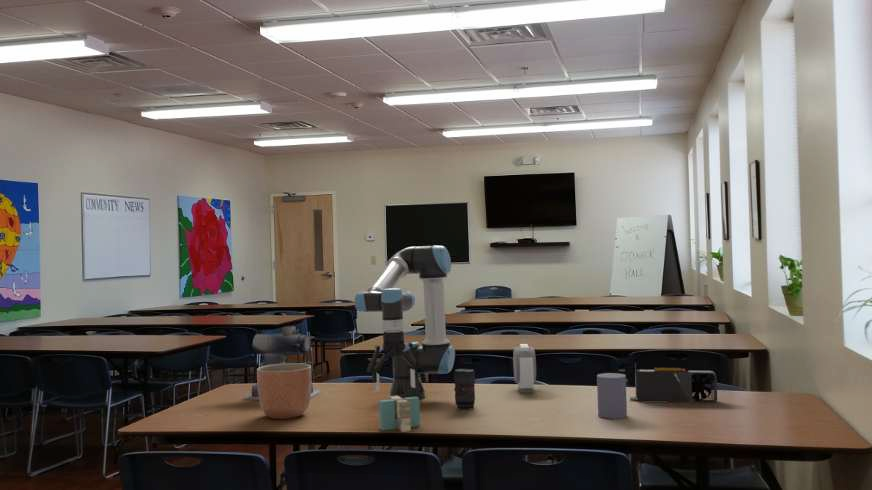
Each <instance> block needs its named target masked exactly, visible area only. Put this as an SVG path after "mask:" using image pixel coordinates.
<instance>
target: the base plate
mask: <svg viewBox="0 0 872 490" xmlns="http://www.w3.org/2000/svg"><path fill="white" fill-rule="evenodd" d="M404 399H405V400H407V401H408V402H410V421H411V428H414V427H420V426H421V419H420V418H421V416H420V412H421V411H420V399H419V398H418V397H407V398H404ZM378 407H379V408H378V409H379V411H378V412H379V413H378V414H379V429H380V430H381V431H388V430H398V421H397V417H395V401H394V400H393V399H389V398H388V399H381V400H378Z"/></svg>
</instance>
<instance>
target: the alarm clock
mask: <svg viewBox="0 0 872 490" xmlns="http://www.w3.org/2000/svg"><path fill="white" fill-rule="evenodd" d="M512 355H513V357H512V364H513V367H512V368H513V377H514V382H515V383H516V384H517V387H518V388H519V389H518V391H519V390H520V391H519V392H520V393H522V394H523V393H525V394H526V393H533V389H534V386H535V382H536V381H537V360H536V351H535V348H534V346H529V345H528V343H520V344H519V346H515V347H513V353H512Z"/></svg>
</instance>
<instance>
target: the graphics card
mask: <svg viewBox="0 0 872 490" xmlns="http://www.w3.org/2000/svg"><path fill="white" fill-rule="evenodd" d="M634 369H635V371H634V372H635V373H634V376H635V377H634V378H635V380H634V381H635V382H634V383H635V387H634V388H635V396H634V397H629V400H630V401H633V400H637V401H639V402H641V401H667V402H666V403H689V402H694V403H695V402H697V403H700V404H701V403H702V404H715V403H716V402H717V401H718V383H717V382H718V379H717V378H718V377H717V374H716V373H715V372H714V371H713V370H687V372H685V371H686V368H681V367H654V368H653V369H637V363H636V362H635V364H634ZM697 403H695V404H697Z"/></svg>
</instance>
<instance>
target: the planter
mask: <svg viewBox="0 0 872 490" xmlns="http://www.w3.org/2000/svg"><path fill="white" fill-rule="evenodd" d="M311 381H312V365H311V364H308V363H297V362H296V363H293V362H292V363H291V362H290V363H288V362H287V363H286V362H285V364H274V365H267V366H263V367H262V366H259V367H258V368H256V382H257V383H256V384H258V395H259V400H258V402H259V405H260V409H261V411H262V413H263V414H264V415H265V416H267V418H270V419H275V420H289V419H294V418H298V417H301V416H302V415H304V414H305V413H306V411H307V410H308V409H309V406H310V402H311V399H310V396H311Z"/></svg>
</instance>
